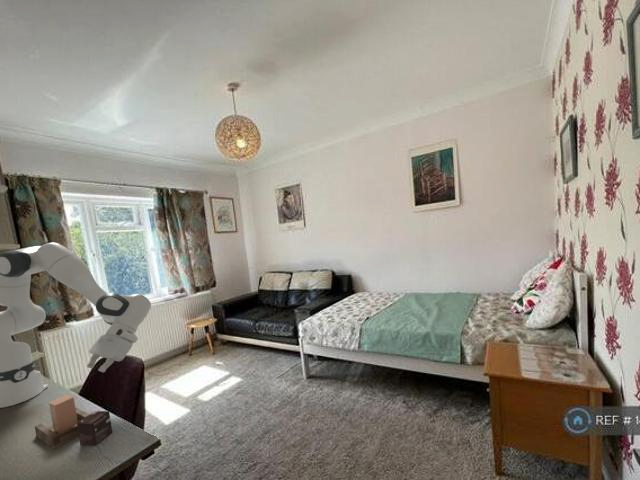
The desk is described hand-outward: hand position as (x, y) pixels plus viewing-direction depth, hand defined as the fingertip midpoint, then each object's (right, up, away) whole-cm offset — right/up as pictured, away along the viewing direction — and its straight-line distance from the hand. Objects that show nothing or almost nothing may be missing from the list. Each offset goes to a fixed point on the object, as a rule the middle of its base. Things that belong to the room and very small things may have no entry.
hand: (94, 369), depth 107 cm
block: (-3, -16, -8) cm, 19 cm away
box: (+12, -16, -14) cm, 24 cm away
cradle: (-3, -17, -8) cm, 19 cm away
